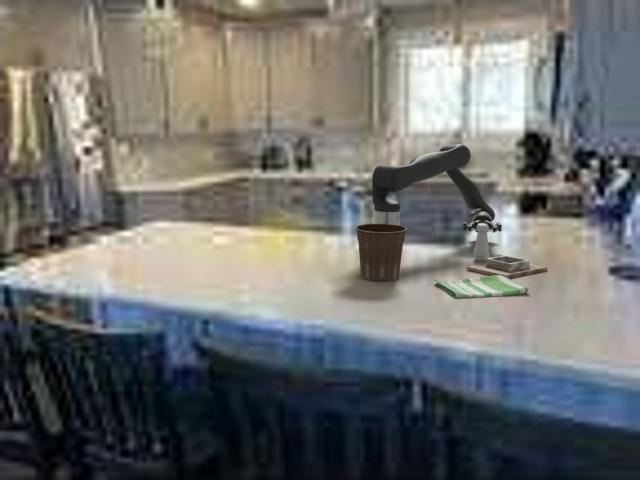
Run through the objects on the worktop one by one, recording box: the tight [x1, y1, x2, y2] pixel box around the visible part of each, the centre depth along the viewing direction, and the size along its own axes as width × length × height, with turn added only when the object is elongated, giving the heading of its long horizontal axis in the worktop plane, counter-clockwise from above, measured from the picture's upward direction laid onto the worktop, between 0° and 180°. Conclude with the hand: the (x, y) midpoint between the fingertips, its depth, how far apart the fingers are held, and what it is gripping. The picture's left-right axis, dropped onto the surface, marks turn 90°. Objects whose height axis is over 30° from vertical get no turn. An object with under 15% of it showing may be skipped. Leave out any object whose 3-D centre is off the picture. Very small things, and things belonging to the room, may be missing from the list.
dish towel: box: [433, 275, 530, 299], centre depth 210 cm, size 18×23×3 cm
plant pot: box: [354, 223, 408, 283], centre depth 221 cm, size 16×16×16 cm
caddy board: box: [466, 255, 548, 279], centre depth 236 cm, size 22×16×4 cm
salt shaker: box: [472, 224, 491, 263], centre depth 251 cm, size 6×6×13 cm
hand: (482, 229), depth 262 cm, fingers open, 8 cm apart
